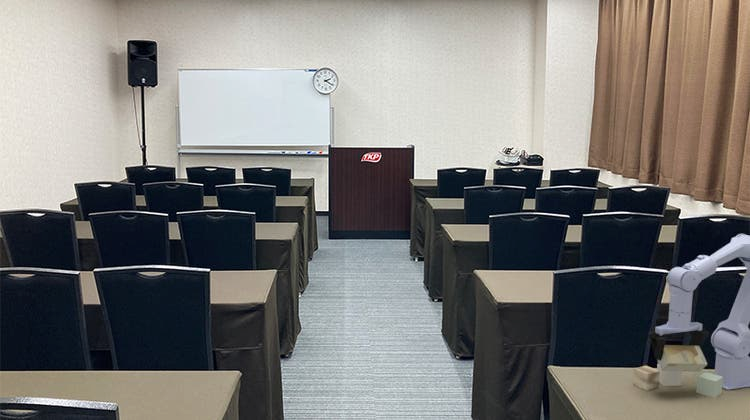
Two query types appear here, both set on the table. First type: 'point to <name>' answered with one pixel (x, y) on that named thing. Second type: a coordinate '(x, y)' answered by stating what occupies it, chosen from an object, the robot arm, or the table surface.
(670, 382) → the cube cream
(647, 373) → the cube beech
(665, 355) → the skincare box
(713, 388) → the cube sage
